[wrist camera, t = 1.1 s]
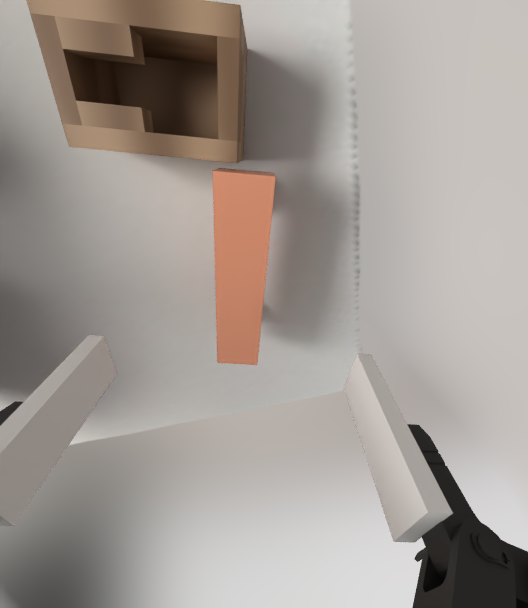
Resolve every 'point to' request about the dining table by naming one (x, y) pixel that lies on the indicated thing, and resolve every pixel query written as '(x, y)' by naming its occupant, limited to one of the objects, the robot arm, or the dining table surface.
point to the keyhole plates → (147, 75)
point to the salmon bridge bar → (241, 259)
